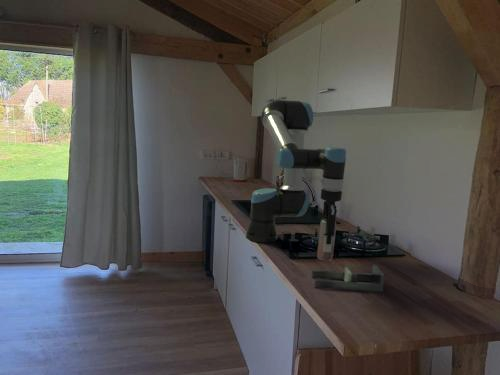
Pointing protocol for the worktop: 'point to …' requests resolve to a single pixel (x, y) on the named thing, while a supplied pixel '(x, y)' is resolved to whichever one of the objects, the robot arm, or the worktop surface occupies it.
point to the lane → (375, 277)
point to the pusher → (349, 275)
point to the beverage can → (320, 254)
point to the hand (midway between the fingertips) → (325, 248)
